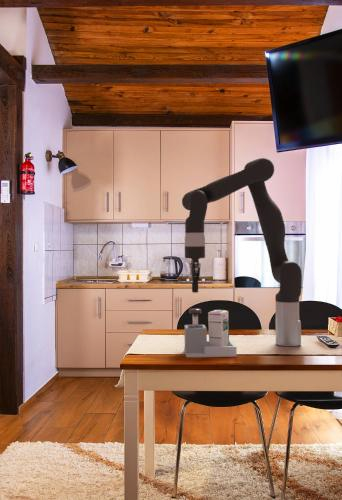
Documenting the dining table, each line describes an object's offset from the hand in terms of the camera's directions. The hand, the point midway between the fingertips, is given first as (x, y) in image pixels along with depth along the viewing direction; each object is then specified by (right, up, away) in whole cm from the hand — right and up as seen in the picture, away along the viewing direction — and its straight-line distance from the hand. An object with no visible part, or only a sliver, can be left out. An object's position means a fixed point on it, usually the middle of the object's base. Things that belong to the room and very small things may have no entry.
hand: (195, 292), depth 175 cm
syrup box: (+9, -22, +1) cm, 23 cm away
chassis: (+5, -23, 0) cm, 23 cm away
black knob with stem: (0, -15, 0) cm, 15 cm away
